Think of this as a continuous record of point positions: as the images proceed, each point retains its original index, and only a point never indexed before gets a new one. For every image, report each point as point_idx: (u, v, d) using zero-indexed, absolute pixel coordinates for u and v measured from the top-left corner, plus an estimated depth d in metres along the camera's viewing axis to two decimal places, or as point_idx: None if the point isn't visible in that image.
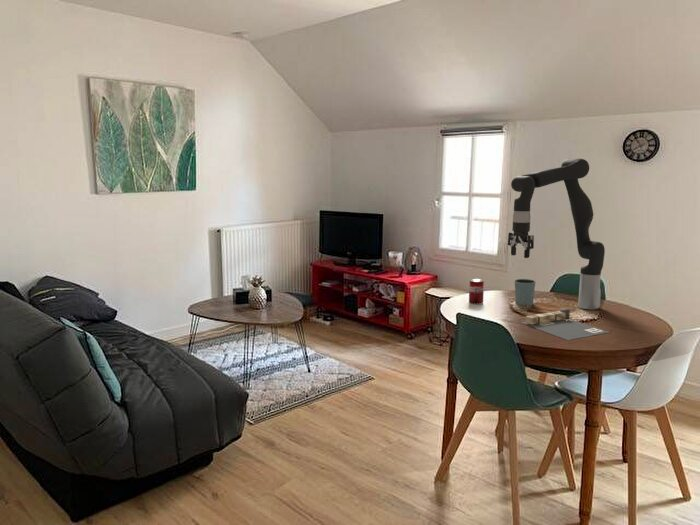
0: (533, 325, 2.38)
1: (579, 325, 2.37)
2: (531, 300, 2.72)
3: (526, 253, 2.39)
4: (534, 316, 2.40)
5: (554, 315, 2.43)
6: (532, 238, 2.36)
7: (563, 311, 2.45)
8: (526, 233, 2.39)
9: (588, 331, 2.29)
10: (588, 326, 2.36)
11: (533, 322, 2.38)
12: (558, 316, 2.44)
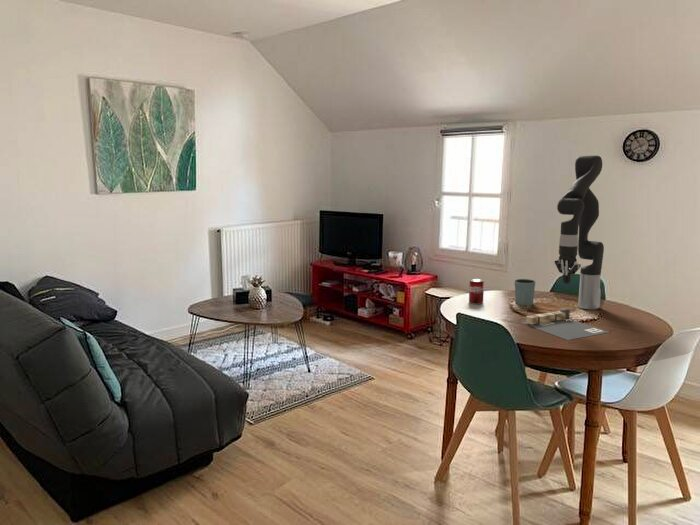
0: (533, 325, 2.38)
1: (579, 325, 2.37)
2: (531, 300, 2.72)
3: (567, 279, 2.35)
4: (534, 316, 2.40)
5: (554, 315, 2.43)
6: (578, 267, 2.31)
7: (563, 311, 2.45)
8: (574, 257, 2.31)
9: (588, 331, 2.29)
10: (588, 326, 2.36)
11: (533, 322, 2.38)
12: (558, 316, 2.44)
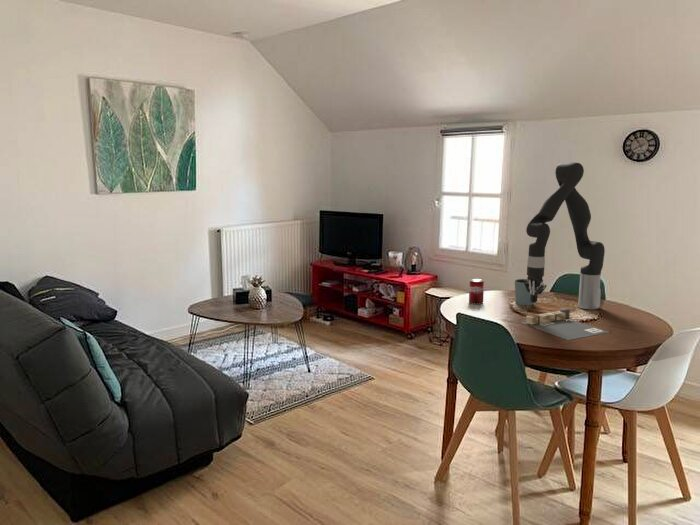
0: (533, 325, 2.38)
1: (579, 325, 2.37)
2: None
3: (534, 298, 2.48)
4: (534, 316, 2.40)
5: (554, 315, 2.43)
6: (544, 288, 2.43)
7: (563, 311, 2.45)
8: (540, 278, 2.44)
9: (588, 331, 2.29)
10: (588, 326, 2.36)
11: (533, 322, 2.38)
12: (558, 316, 2.44)
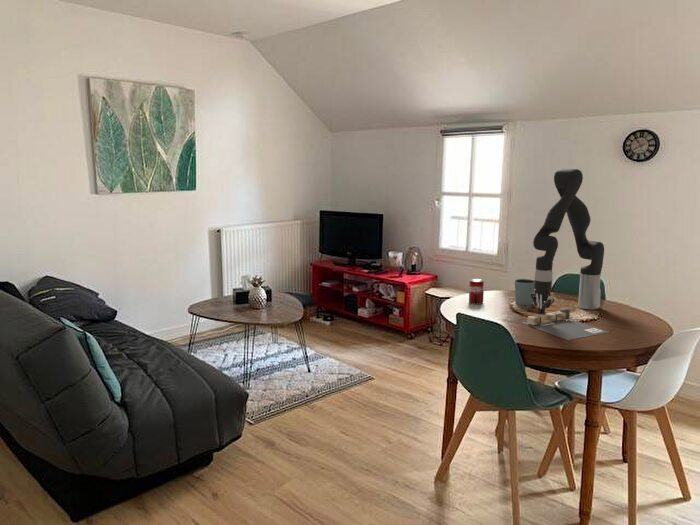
0: (533, 325, 2.38)
1: (579, 325, 2.37)
2: (531, 300, 2.72)
3: (541, 312, 2.44)
4: (535, 316, 2.40)
5: (555, 316, 2.42)
6: (551, 302, 2.40)
7: (563, 311, 2.45)
8: (548, 292, 2.40)
9: (588, 331, 2.29)
10: (588, 326, 2.36)
11: (535, 323, 2.37)
12: (558, 316, 2.43)
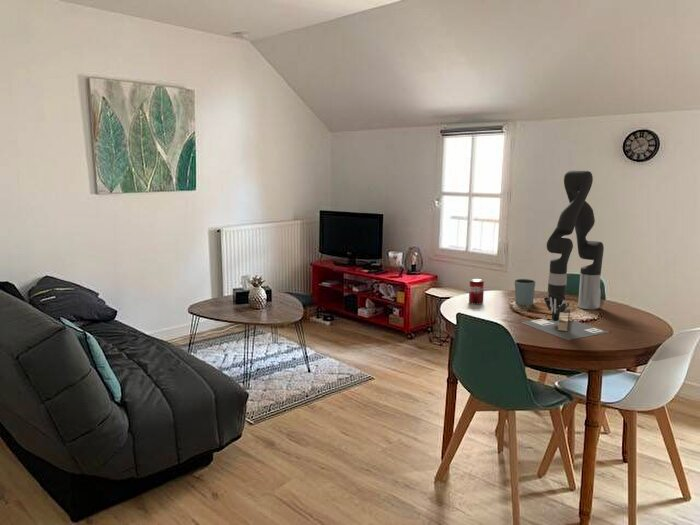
0: (533, 325, 2.38)
1: (579, 325, 2.37)
2: (531, 300, 2.72)
3: (555, 316, 2.37)
4: (562, 321, 2.31)
5: (568, 317, 2.40)
6: (566, 306, 2.32)
7: (567, 311, 2.45)
8: (562, 296, 2.33)
9: (588, 331, 2.29)
10: (588, 326, 2.36)
11: None
12: (568, 317, 2.42)
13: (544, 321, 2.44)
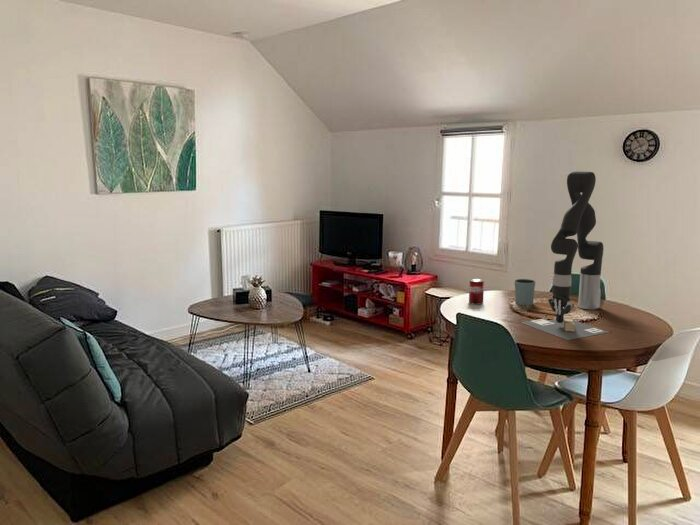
0: (533, 325, 2.38)
1: (579, 325, 2.37)
2: (531, 300, 2.72)
3: (560, 318, 2.34)
4: (569, 322, 2.30)
5: None
6: (571, 308, 2.30)
7: None
8: (567, 297, 2.30)
9: (588, 331, 2.29)
10: (588, 326, 2.36)
11: None
12: None
13: (544, 321, 2.44)
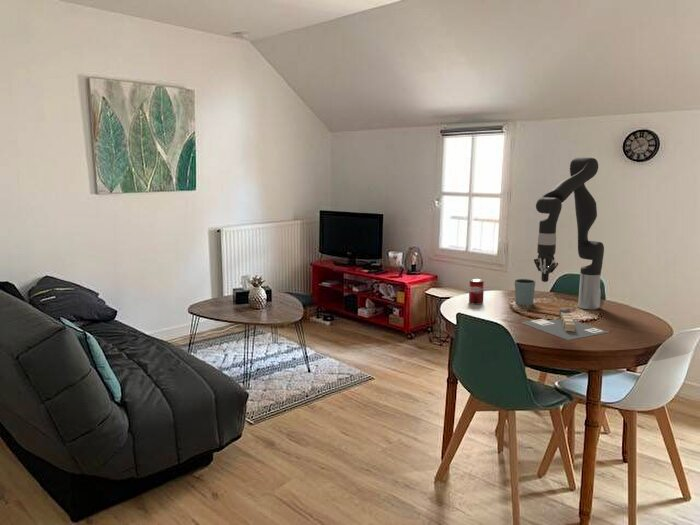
0: (533, 325, 2.38)
1: (579, 325, 2.37)
2: (531, 300, 2.72)
3: (545, 277, 2.38)
4: (569, 322, 2.30)
5: None
6: (555, 266, 2.33)
7: (567, 311, 2.45)
8: (552, 256, 2.34)
9: (588, 331, 2.29)
10: (588, 326, 2.36)
11: None
12: None
13: (544, 321, 2.44)
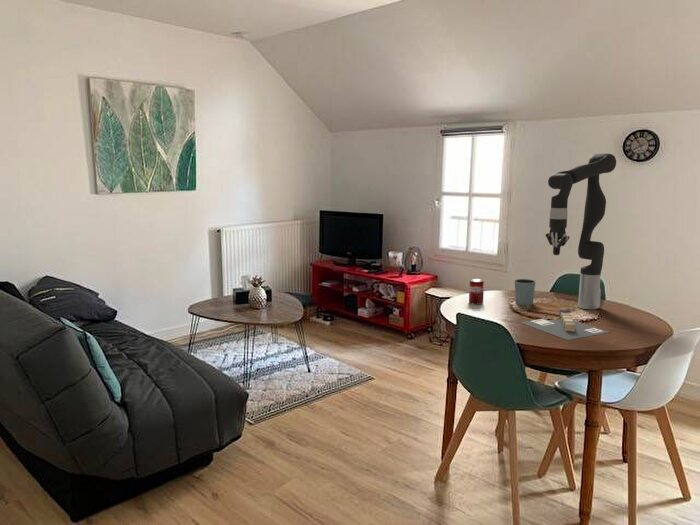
0: (533, 325, 2.38)
1: (579, 325, 2.37)
2: (531, 300, 2.72)
3: (557, 250, 2.47)
4: (569, 322, 2.30)
5: None
6: (567, 239, 2.43)
7: (567, 311, 2.45)
8: (563, 229, 2.44)
9: (588, 331, 2.29)
10: (588, 326, 2.36)
11: None
12: None
13: (544, 321, 2.44)
